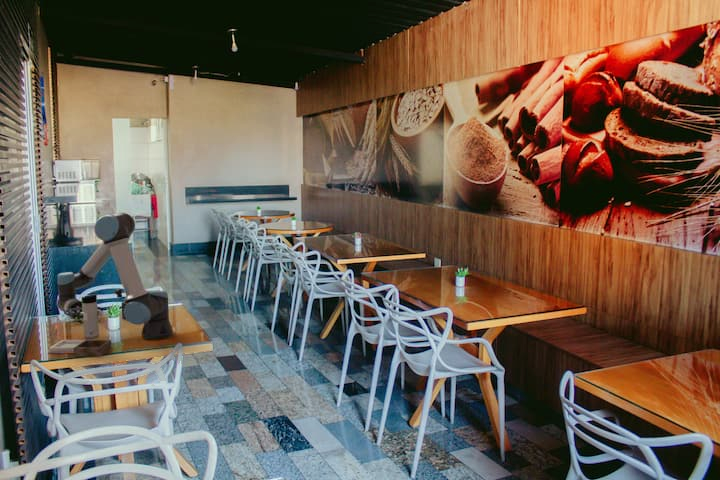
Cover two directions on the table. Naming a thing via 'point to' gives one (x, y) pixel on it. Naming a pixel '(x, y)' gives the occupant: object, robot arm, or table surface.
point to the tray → (65, 346)
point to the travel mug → (90, 317)
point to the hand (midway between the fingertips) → (94, 315)
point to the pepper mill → (119, 295)
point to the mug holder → (92, 348)
